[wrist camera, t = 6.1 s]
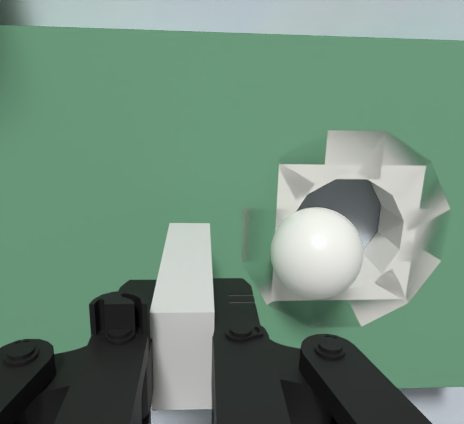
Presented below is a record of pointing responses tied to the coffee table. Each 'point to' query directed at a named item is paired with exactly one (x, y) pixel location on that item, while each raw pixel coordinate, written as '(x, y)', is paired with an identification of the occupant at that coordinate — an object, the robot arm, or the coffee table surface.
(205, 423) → the coffee table surface
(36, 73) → the mat
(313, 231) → the ball
